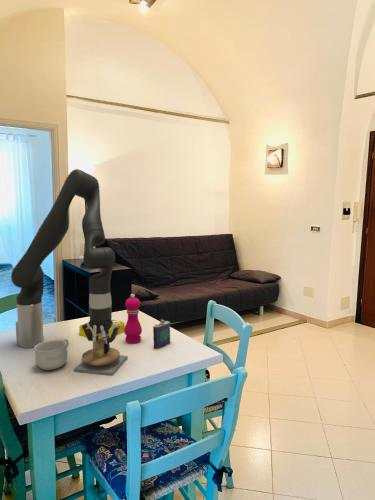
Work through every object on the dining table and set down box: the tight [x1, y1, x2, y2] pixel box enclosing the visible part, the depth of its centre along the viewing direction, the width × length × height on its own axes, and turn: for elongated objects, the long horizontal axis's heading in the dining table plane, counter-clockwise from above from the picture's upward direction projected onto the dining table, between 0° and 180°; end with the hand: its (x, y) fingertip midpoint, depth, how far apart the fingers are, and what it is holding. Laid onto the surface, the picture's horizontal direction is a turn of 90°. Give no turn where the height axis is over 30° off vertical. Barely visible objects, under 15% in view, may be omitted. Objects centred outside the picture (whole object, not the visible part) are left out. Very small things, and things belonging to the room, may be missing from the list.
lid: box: [81, 337, 121, 365], centre depth 131 cm, size 13×13×6 cm
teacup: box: [33, 338, 69, 371], centre depth 131 cm, size 14×11×8 cm
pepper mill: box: [123, 293, 143, 345], centre depth 153 cm, size 7×7×20 cm
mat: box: [73, 354, 129, 377], centre depth 132 cm, size 14×14×1 cm
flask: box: [152, 319, 171, 350], centre depth 149 cm, size 9×3×11 cm, turn 144°
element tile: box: [78, 319, 126, 338], centre depth 164 cm, size 15×15×5 cm
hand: (101, 352), depth 131 cm, fingers closed on lid, 3 cm apart
